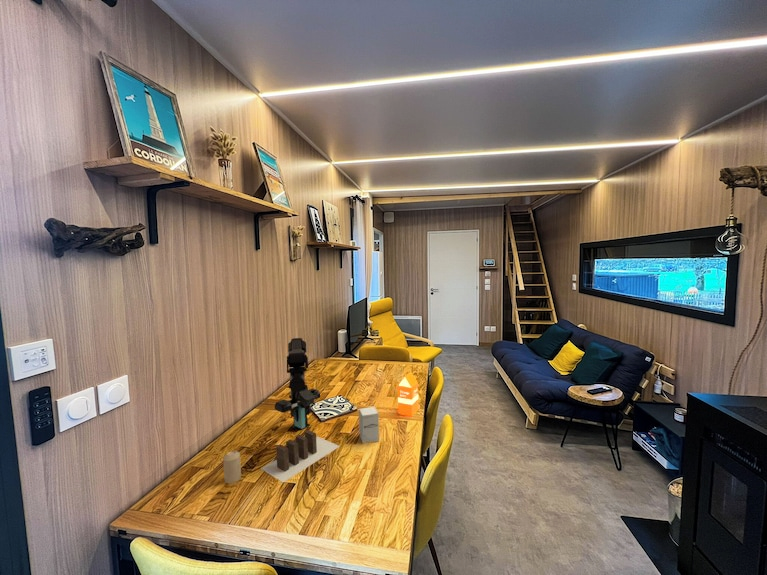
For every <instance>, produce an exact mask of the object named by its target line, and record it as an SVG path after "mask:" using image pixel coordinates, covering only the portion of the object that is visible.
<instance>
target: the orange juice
mask: <svg viewBox="0 0 767 575" xmlns="http://www.w3.org/2000/svg"><path fill="white" fill-rule="evenodd" d="M397 406H398V407H397V408H398V414H399V415H403V416H408V417H414V415H415V414H416V413H417V412H418V411H419V407H420V406H419V382H418V381H417V378H416V377H415V375H414V374H413V372H412V371H409V372H408V373H406V375H404V376H403V378H402V379H401V381H400V382H399V384H398V385H397Z"/></svg>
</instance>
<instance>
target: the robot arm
mask: <svg viewBox="0 0 767 575" xmlns="http://www.w3.org/2000/svg"><path fill="white" fill-rule="evenodd" d="M290 340H291V341H290V342H288V344H287V352H288V355H286V373H287V374H289V384H288V389H289V390H290V395H288V398H289V399H290V400H286V399H284V398H283V399H281V400H278V401H276V402H275V403H274V410H275V411H277V412H280V413H281V414H283V413H285V414H286V413H287V412H289V411H290V417H291V418H293V419H294V418H295V420H296V421H297V422H298V418H299V417H298V409H299V408H300V407H299V406H301V407H303V408H305V428H303V429H301V428H298V427H296V426H295V424H294V423H293V425H291V427H290V428H291V429H294V430H296V431H300V432H301V431H302V430H305V429H306V428H309V427H310V426H311V424H310V423H309V421H308V420H309V419H308V416H309V415H310V414H311V413H312V412H311V410H312V409H311V405H313V404H314V403H315V400H318V399H320V398H321V392H320V390H318V389H317V388H308V385H307V384H306V376H305V372H307V371H308V370H307V369H308V368H309V357H308V356H307V354H306V353H307V352H308V351H307V342H306V341H305V340H303V338H302V337H296V338H295V337H294V338H291V339H290ZM297 405H298V406H297Z"/></svg>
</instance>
